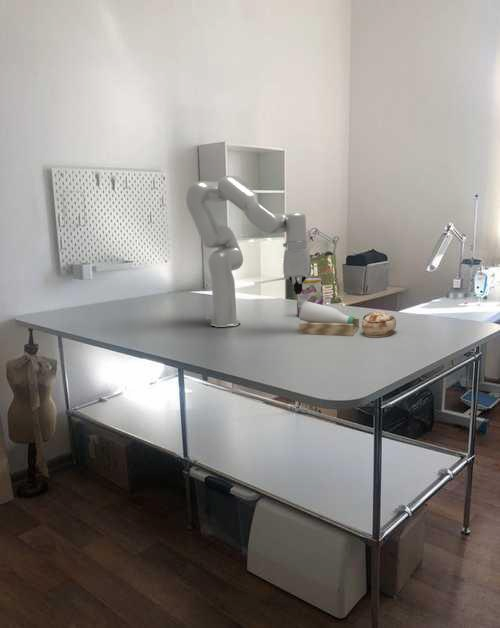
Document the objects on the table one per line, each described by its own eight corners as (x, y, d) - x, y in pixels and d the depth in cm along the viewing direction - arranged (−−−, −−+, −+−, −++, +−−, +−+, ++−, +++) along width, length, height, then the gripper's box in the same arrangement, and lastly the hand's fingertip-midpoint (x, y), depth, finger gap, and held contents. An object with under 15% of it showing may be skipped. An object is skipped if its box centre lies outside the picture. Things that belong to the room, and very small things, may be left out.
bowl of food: (391, 328, 206) (391, 308, 205) (403, 336, 191) (403, 315, 190) (356, 330, 206) (356, 309, 204) (366, 338, 191) (365, 317, 190)
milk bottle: (297, 322, 207) (348, 335, 200) (300, 304, 203) (352, 317, 197) (303, 316, 213) (352, 328, 207) (306, 298, 210) (356, 310, 204)
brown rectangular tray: (299, 333, 203) (299, 323, 202) (309, 326, 216) (309, 316, 215) (352, 335, 196) (352, 325, 195) (359, 327, 209) (359, 317, 208)
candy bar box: (297, 317, 236) (296, 280, 233) (297, 314, 241) (296, 278, 238) (322, 316, 235) (322, 279, 232) (322, 314, 240) (321, 277, 237)
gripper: (274, 247, 204) (276, 295, 207) (313, 246, 198) (314, 295, 201) (280, 246, 210) (282, 292, 214) (318, 244, 205) (319, 292, 208)
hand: (298, 293), depth 208 cm, fingers closed
